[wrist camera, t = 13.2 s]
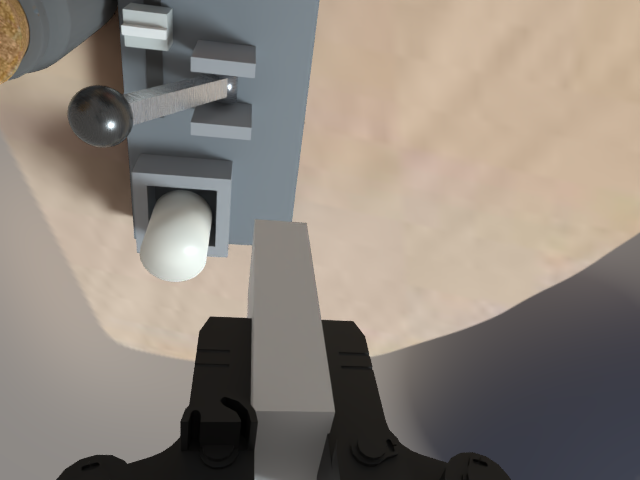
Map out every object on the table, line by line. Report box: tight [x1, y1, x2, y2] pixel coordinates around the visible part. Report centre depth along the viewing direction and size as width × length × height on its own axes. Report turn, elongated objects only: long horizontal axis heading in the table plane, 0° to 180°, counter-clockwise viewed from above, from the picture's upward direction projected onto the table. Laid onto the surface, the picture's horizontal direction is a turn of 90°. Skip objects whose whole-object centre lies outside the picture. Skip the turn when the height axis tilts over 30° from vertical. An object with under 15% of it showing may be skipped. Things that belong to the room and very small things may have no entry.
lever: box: [68, 74, 238, 147], centre depth 29 cm, size 3×3×12 cm
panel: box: [118, 0, 319, 257], centre depth 33 cm, size 25×12×7 cm, turn 172°
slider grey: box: [121, 3, 173, 51], centre depth 30 cm, size 2×2×3 cm
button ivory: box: [140, 190, 212, 282], centre depth 33 cm, size 4×4×5 cm
